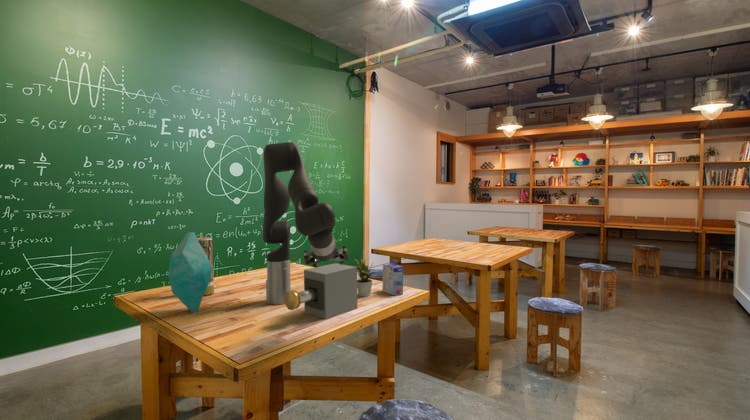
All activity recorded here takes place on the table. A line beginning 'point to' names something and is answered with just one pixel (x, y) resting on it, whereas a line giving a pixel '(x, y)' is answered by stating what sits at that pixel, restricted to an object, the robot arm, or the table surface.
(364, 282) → the house plant
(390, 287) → the ink cartridge box
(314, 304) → the collar
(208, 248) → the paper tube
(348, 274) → the housing
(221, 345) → the table surface
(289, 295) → the peg
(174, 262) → the crystal
